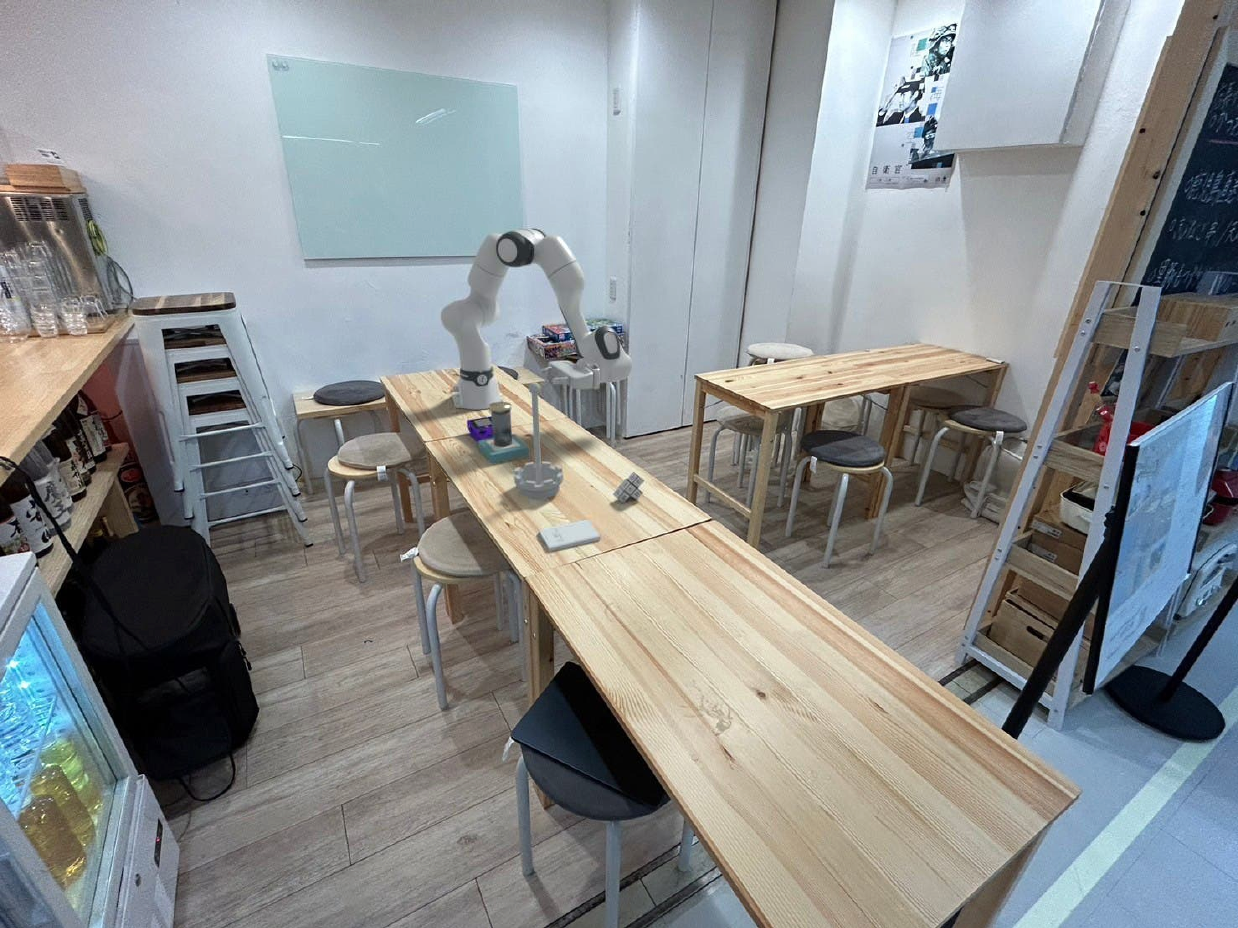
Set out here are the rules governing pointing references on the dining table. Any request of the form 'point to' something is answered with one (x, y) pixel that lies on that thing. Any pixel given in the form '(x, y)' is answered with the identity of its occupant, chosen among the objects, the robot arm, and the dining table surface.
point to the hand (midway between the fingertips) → (546, 376)
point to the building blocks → (629, 488)
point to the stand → (503, 450)
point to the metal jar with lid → (501, 423)
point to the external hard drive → (569, 535)
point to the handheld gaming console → (480, 428)
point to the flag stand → (538, 464)
